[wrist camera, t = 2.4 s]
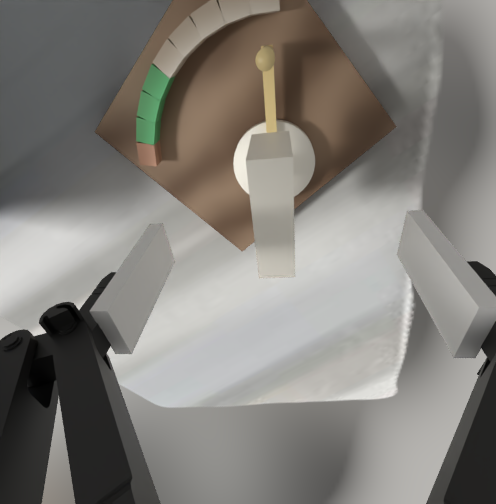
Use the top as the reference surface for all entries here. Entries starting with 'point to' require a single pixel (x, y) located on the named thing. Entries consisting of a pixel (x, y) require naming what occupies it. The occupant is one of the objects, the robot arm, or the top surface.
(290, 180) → the peg
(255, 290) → the top surface
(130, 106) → the wooden base board
